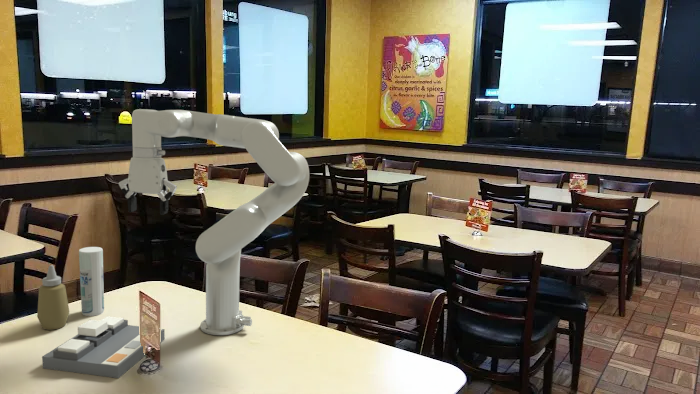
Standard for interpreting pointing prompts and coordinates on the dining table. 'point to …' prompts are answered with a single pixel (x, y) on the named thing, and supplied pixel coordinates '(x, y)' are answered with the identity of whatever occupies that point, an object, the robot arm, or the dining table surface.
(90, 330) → the switch
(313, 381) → the dining table surface
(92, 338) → the switch box
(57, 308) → the squeeze bottle
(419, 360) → the dining table surface
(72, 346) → the switch
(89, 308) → the spray can
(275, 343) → the dining table surface
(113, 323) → the switch
